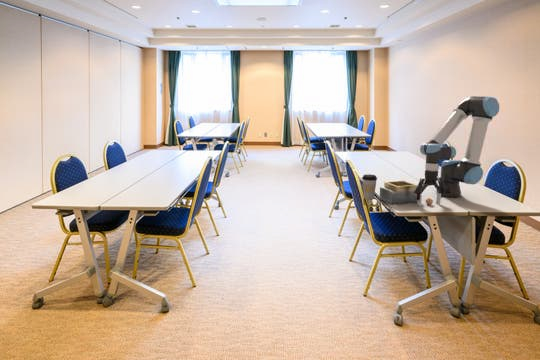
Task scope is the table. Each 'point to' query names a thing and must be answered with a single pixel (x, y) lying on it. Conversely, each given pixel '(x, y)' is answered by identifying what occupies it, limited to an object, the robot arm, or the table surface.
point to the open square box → (398, 192)
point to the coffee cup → (369, 186)
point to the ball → (429, 201)
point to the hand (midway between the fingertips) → (428, 204)
